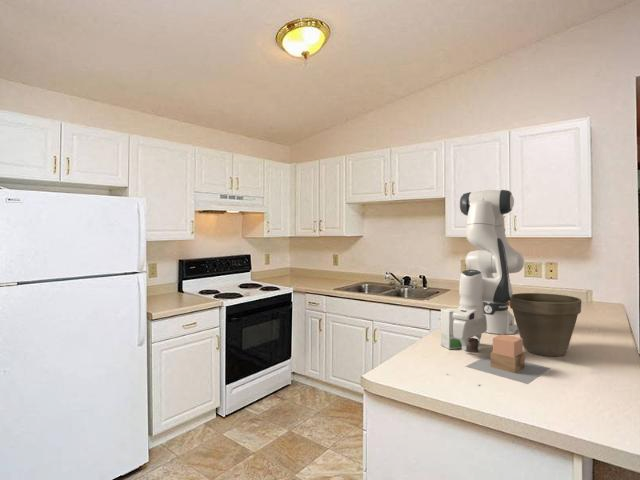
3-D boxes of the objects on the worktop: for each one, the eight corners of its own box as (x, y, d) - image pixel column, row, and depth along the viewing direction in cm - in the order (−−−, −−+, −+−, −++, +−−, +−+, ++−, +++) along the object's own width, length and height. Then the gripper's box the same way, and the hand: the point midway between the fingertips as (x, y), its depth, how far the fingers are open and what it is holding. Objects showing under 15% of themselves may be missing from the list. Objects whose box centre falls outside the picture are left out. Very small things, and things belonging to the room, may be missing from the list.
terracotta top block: (501, 348, 132) (501, 334, 132) (522, 352, 126) (522, 338, 126) (492, 352, 127) (492, 337, 127) (514, 357, 122) (514, 342, 122)
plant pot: (495, 345, 157) (495, 294, 156) (537, 339, 165) (537, 290, 165) (550, 364, 133) (550, 304, 133) (596, 356, 142) (597, 299, 141)
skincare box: (448, 349, 151) (448, 311, 151) (439, 345, 157) (439, 308, 157) (466, 348, 153) (466, 310, 153) (456, 343, 159) (456, 307, 159)
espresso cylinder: (468, 351, 149) (468, 336, 148) (480, 354, 145) (480, 339, 145) (461, 354, 145) (461, 339, 145) (474, 357, 141) (474, 341, 141)
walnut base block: (500, 361, 133) (500, 347, 132) (524, 367, 126) (524, 352, 126) (490, 366, 127) (490, 352, 127) (515, 373, 121) (515, 358, 121)
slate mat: (491, 357, 141) (491, 353, 141) (550, 372, 126) (550, 368, 126) (465, 370, 128) (465, 366, 128) (527, 388, 113) (527, 384, 113)
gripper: (476, 307, 154) (475, 340, 154) (450, 314, 140) (450, 350, 140) (491, 309, 149) (491, 344, 149) (466, 316, 136) (465, 354, 136)
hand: (470, 347), depth 145 cm, fingers open, 8 cm apart
